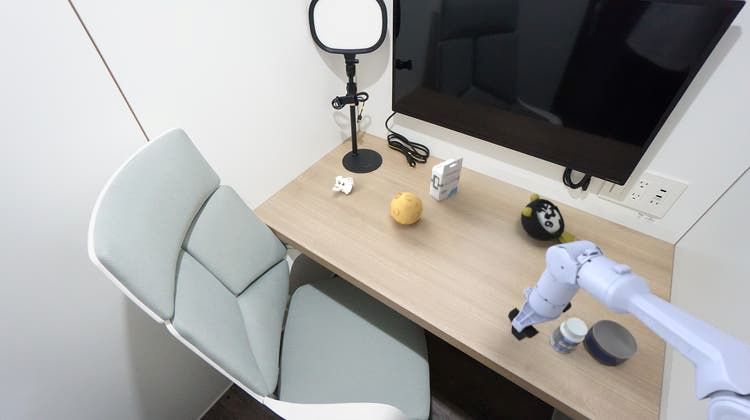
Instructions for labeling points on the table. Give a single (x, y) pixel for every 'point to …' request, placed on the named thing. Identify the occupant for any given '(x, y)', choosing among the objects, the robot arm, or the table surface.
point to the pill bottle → (568, 335)
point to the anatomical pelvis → (347, 184)
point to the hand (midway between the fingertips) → (528, 326)
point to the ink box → (445, 179)
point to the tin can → (610, 343)
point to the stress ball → (406, 208)
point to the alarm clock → (544, 221)
